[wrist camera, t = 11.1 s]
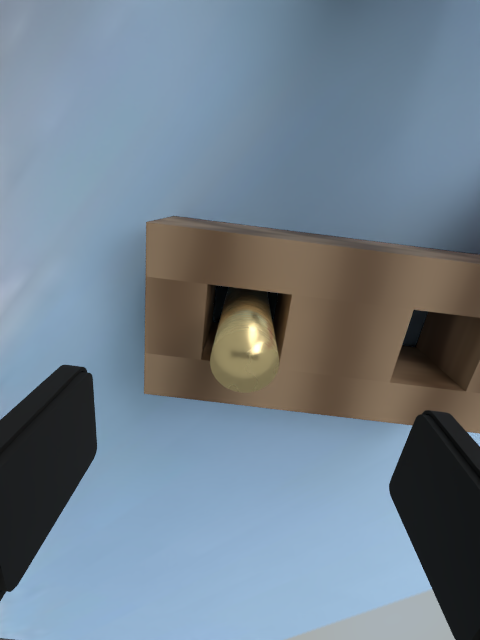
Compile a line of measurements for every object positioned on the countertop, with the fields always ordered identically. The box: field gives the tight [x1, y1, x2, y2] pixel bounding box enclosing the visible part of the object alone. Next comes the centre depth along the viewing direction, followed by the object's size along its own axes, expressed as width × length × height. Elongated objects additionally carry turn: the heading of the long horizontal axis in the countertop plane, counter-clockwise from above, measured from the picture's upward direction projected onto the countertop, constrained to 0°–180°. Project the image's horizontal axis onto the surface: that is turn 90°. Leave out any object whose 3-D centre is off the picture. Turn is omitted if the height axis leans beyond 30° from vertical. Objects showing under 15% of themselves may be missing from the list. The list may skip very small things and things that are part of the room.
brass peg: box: [210, 287, 279, 393], centre depth 18 cm, size 3×3×10 cm
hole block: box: [144, 216, 480, 433], centre depth 20 cm, size 22×10×6 cm, turn 83°
